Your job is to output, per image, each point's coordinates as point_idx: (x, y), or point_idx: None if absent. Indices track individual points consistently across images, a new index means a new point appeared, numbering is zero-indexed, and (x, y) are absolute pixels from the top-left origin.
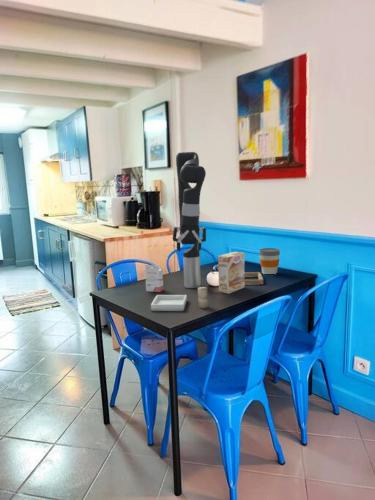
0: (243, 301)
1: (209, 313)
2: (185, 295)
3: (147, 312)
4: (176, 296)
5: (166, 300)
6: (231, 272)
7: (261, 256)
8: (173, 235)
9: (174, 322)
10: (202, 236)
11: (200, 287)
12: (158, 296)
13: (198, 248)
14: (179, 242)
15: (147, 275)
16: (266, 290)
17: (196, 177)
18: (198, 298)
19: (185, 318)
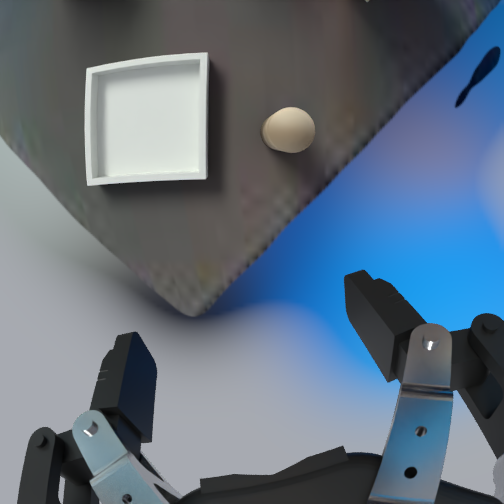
0: (413, 92)
1: (302, 203)
2: (202, 60)
3: (90, 197)
4: (164, 62)
5: (129, 83)
6: None
7: None
8: (35, 487)
9: (194, 283)
10: (494, 375)
11: (282, 114)
12: (95, 73)
13: (362, 334)
14: (134, 439)
15: None
16: (465, 13)
17: None
18: (266, 140)
19: (224, 250)
